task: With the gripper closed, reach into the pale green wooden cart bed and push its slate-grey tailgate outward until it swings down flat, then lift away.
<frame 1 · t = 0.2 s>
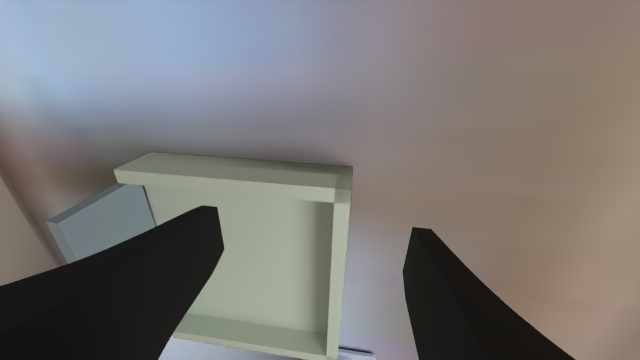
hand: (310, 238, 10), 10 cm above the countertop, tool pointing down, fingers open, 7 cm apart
cart bed: (257, 251, 24), on the countertop
tailgate: (128, 279, 21), point 5 cm above the countertop, hinge at 0.0°
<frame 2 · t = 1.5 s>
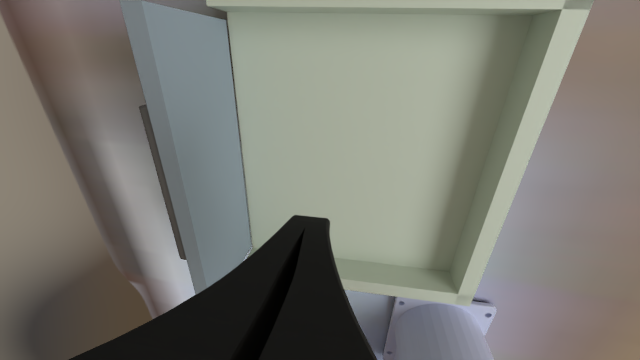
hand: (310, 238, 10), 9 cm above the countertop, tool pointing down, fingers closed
cart bed: (363, 154, 18), on the countertop
tailgate: (204, 172, 15), point 5 cm above the countertop, hinge at 0.0°
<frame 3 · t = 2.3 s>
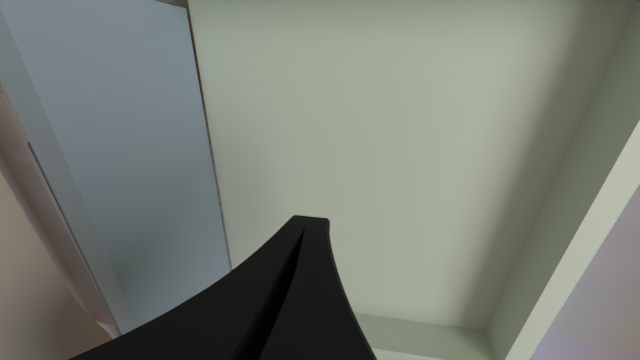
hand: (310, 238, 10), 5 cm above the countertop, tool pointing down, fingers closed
cart bed: (375, 185, 14), on the countertop
tailgate: (159, 219, 11), point 5 cm above the countertop, hinge at 0.0°
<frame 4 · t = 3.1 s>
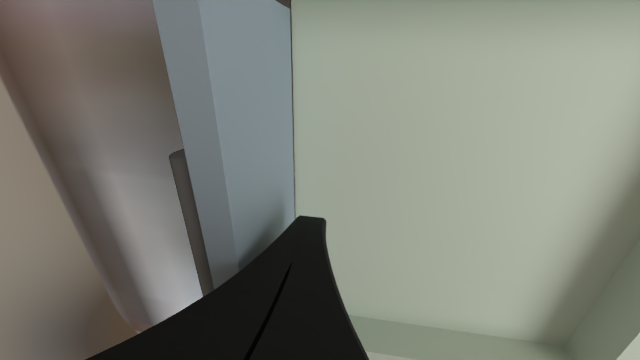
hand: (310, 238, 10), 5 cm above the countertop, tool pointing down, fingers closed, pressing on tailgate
cart bed: (458, 195, 13), on the countertop
tailgate: (254, 233, 10), point 5 cm above the countertop, hinge at 0.0°, touching gripper
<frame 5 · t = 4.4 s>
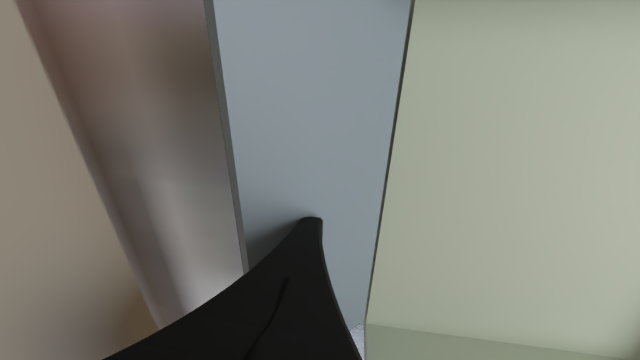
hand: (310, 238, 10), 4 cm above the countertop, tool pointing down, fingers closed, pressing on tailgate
cart bed: (557, 204, 12), on the countertop
tailgate: (312, 219, 11), point 3 cm above the countertop, hinge at 48.8°, touching gripper
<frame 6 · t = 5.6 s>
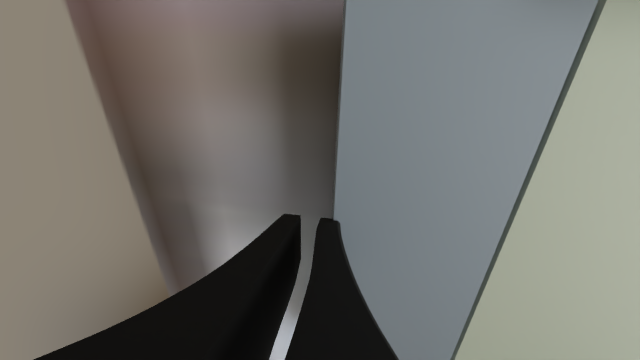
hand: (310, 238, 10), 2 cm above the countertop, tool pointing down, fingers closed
tailgate: (407, 231, 10), point 1 cm above the countertop, hinge at 81.6°, touching gripper
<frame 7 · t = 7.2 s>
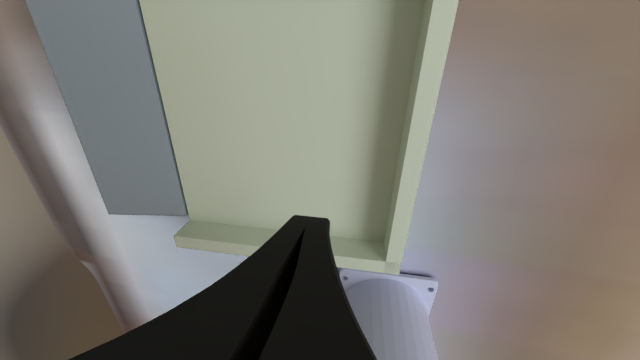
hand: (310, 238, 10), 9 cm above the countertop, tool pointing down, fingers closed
cart bed: (291, 120, 18), on the countertop
tailgate: (125, 114, 18), point 1 cm above the countertop, hinge at 81.7°
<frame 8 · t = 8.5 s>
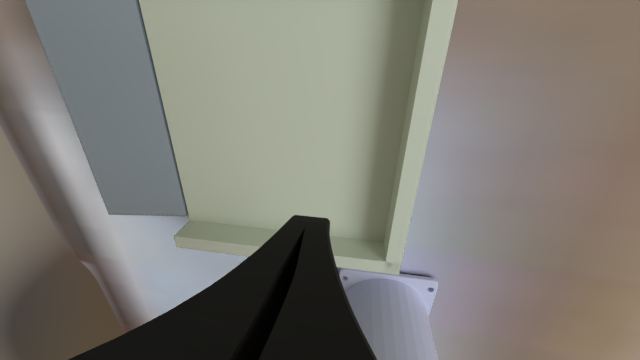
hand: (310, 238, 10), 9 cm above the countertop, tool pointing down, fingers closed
cart bed: (291, 121, 18), on the countertop
tailgate: (125, 114, 18), point 1 cm above the countertop, hinge at 81.7°
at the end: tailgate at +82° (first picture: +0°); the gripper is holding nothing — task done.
